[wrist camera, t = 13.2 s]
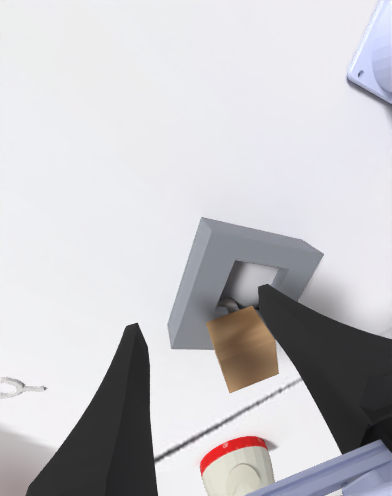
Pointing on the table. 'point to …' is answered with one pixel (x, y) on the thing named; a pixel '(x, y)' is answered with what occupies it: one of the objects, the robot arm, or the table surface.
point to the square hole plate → (219, 267)
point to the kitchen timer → (237, 467)
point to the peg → (242, 346)
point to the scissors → (18, 387)
